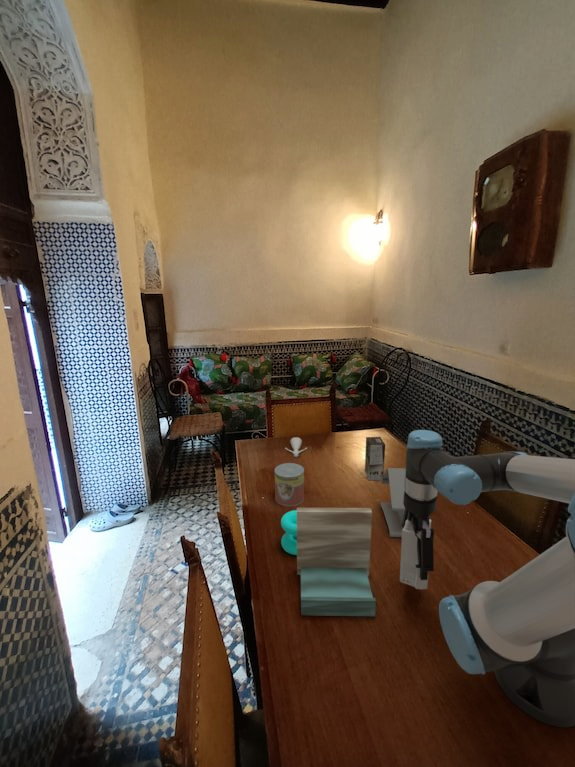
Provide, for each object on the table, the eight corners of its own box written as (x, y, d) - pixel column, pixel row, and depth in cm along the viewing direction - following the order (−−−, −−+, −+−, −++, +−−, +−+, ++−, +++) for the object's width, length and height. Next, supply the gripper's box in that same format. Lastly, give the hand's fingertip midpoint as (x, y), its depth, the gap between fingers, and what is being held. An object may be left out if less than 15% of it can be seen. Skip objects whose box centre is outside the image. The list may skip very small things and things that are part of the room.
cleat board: (379, 616, 87) (383, 545, 82) (297, 615, 88) (296, 545, 83) (367, 570, 102) (370, 508, 97) (297, 569, 102) (296, 507, 97)
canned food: (270, 503, 135) (270, 474, 132) (280, 488, 145) (279, 461, 142) (299, 508, 131) (299, 479, 128) (307, 492, 142) (307, 465, 139)
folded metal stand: (420, 539, 114) (425, 482, 109) (390, 538, 115) (393, 482, 110) (406, 506, 132) (409, 456, 127) (380, 505, 133) (382, 455, 128)
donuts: (274, 520, 108) (292, 504, 116) (274, 548, 111) (292, 531, 119) (302, 532, 103) (319, 514, 111) (302, 561, 105) (319, 542, 113)
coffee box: (383, 480, 150) (385, 445, 146) (368, 480, 150) (370, 445, 146) (378, 470, 159) (380, 436, 155) (364, 470, 159) (365, 436, 155)
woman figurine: (307, 435, 188) (308, 451, 171) (307, 442, 190) (308, 460, 172) (284, 435, 188) (283, 452, 171) (285, 442, 190) (284, 460, 173)
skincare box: (423, 591, 87) (427, 538, 84) (397, 581, 90) (401, 530, 86) (428, 568, 94) (433, 518, 91) (405, 560, 97) (408, 512, 94)
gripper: (456, 521, 75) (446, 608, 81) (420, 471, 97) (415, 542, 102) (420, 521, 76) (412, 608, 81) (392, 471, 97) (388, 542, 103)
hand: (414, 571), depth 92 cm, fingers closed on skincare box, 10 cm apart
